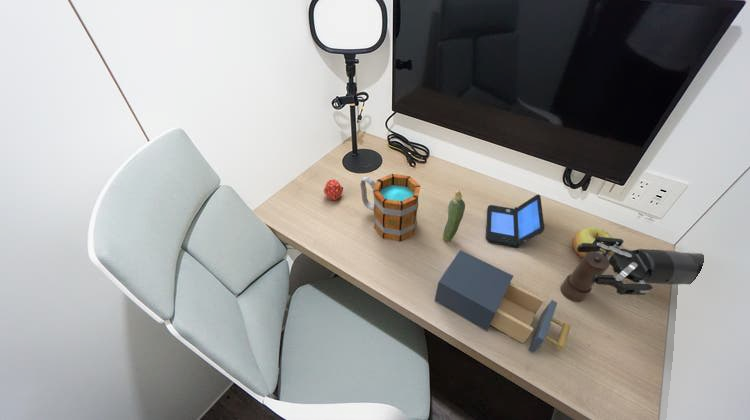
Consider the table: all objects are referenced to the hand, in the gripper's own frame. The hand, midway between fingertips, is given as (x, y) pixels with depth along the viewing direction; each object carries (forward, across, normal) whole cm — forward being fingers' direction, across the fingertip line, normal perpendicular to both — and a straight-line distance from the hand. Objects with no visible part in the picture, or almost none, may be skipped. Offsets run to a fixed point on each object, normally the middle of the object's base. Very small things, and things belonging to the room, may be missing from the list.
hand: (585, 262), depth 71 cm
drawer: (+13, +10, +11) cm, 20 cm away
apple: (-10, -13, +12) cm, 21 cm away
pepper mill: (-2, 0, +12) cm, 12 cm away
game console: (+9, -21, +12) cm, 26 cm away
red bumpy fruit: (+66, -33, +12) cm, 74 cm away
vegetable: (+28, -15, +12) cm, 34 cm away
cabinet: (+24, +4, +12) cm, 27 cm away
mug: (+46, -22, +12) cm, 53 cm away
